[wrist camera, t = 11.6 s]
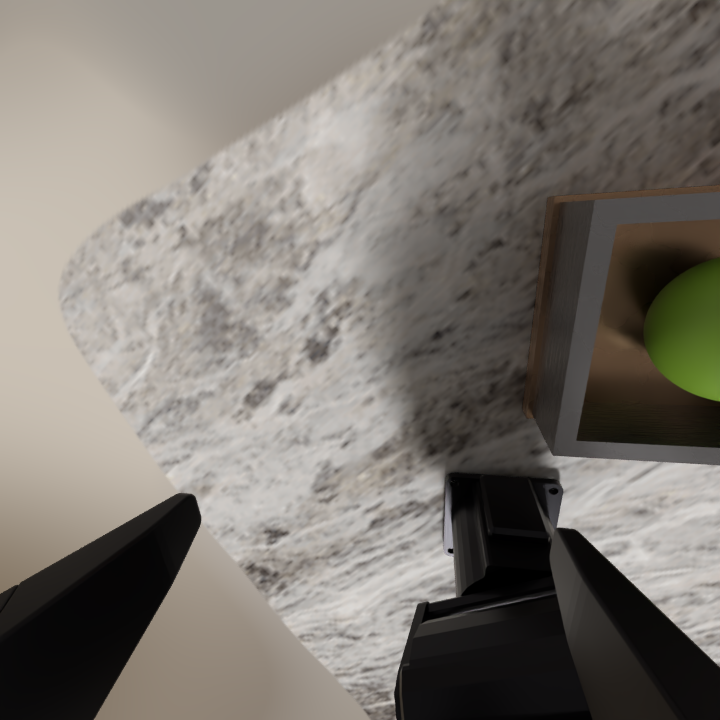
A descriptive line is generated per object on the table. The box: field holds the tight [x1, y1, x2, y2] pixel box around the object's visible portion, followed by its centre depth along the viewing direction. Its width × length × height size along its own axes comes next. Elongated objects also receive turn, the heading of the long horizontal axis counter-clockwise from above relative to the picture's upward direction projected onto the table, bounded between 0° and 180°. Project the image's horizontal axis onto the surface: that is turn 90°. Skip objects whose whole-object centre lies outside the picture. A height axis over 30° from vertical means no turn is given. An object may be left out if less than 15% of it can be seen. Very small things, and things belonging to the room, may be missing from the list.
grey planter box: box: [522, 185, 720, 465], centre depth 15 cm, size 11×11×4 cm
